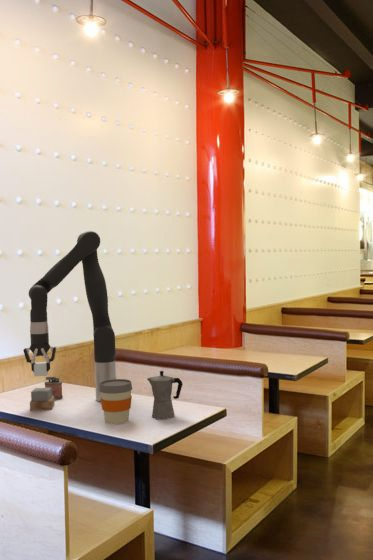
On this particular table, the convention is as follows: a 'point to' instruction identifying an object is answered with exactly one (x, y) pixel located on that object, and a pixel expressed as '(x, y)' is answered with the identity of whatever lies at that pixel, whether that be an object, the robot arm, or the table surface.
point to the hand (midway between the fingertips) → (40, 371)
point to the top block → (40, 369)
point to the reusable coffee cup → (116, 400)
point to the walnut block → (42, 404)
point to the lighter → (54, 386)
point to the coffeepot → (163, 395)
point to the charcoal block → (41, 394)
